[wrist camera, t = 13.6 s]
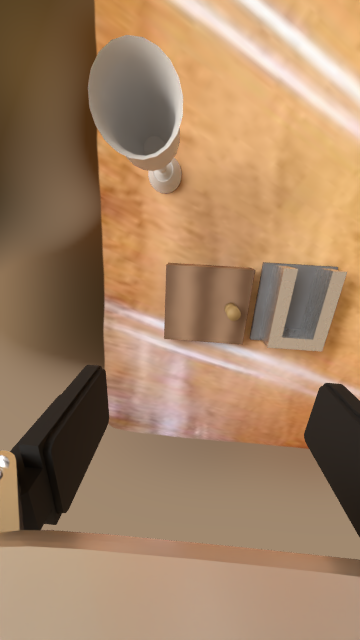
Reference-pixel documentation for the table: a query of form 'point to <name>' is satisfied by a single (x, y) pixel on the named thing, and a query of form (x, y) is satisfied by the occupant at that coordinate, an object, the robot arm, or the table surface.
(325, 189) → the table surface
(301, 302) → the mat
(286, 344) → the c link
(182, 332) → the stand
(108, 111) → the chalice
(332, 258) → the table surface
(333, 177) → the table surface
